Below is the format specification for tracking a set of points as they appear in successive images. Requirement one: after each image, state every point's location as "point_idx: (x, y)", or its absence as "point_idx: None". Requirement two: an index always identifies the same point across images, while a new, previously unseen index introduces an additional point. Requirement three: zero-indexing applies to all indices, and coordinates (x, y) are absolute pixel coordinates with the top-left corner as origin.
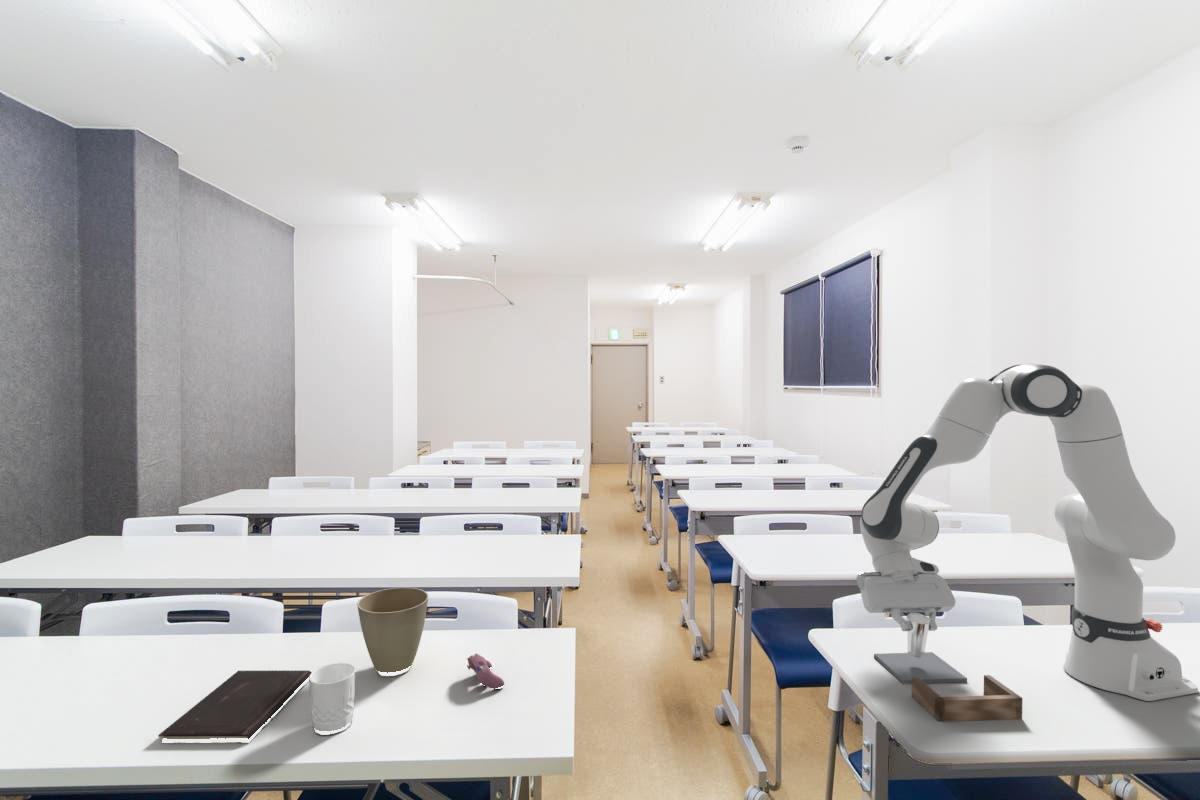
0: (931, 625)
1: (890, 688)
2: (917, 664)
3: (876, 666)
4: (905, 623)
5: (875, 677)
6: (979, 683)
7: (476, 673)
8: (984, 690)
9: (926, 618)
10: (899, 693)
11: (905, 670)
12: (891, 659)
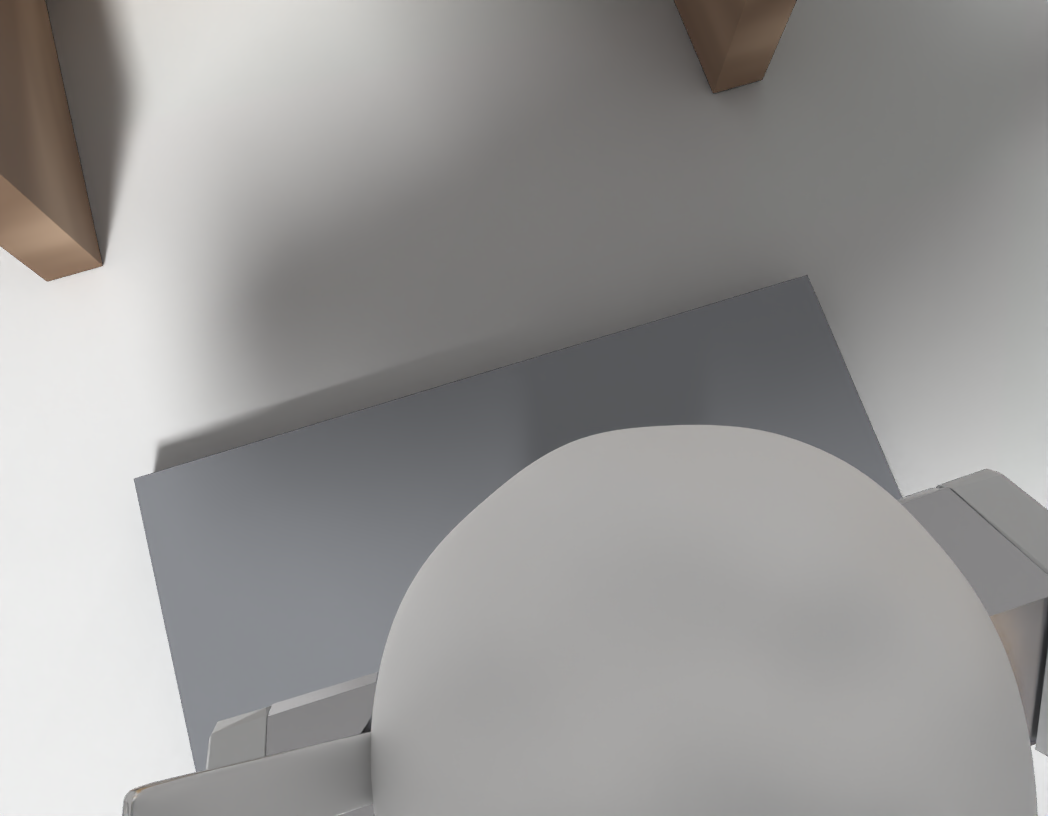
0: (349, 708)
1: (922, 177)
2: None
3: None
4: (1026, 538)
5: (1045, 355)
6: (33, 489)
7: None
8: (79, 237)
9: (497, 584)
10: (855, 111)
11: None
12: None
